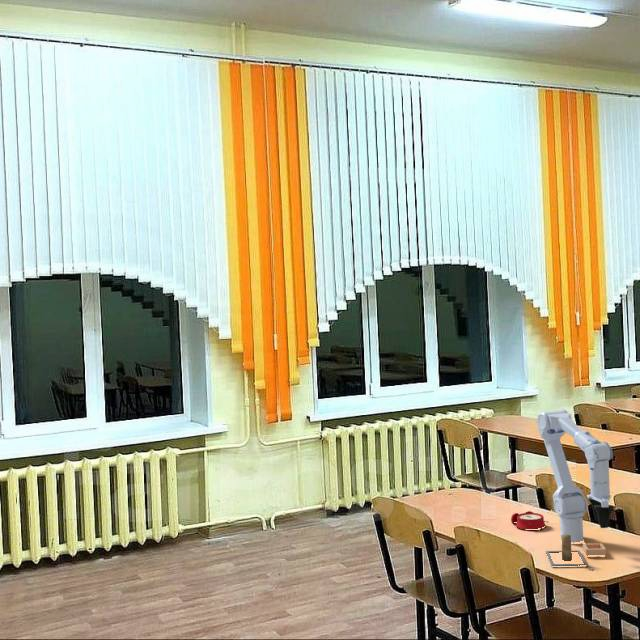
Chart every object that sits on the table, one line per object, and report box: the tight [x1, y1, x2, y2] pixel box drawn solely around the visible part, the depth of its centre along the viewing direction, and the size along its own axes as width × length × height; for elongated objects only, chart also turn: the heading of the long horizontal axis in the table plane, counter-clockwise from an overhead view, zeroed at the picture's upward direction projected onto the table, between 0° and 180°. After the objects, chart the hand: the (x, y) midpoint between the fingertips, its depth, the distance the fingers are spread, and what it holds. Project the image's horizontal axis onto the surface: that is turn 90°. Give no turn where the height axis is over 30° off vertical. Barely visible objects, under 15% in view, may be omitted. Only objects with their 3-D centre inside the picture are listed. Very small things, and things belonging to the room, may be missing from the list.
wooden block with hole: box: [582, 542, 607, 556], centre depth 269 cm, size 6×6×3 cm
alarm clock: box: [510, 510, 549, 530], centre depth 305 cm, size 10×6×15 cm
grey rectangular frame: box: [545, 550, 588, 567], centre depth 265 cm, size 14×11×1 cm
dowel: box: [560, 534, 572, 561], centre depth 264 cm, size 3×3×8 cm
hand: (601, 524), depth 268 cm, fingers open, 7 cm apart
